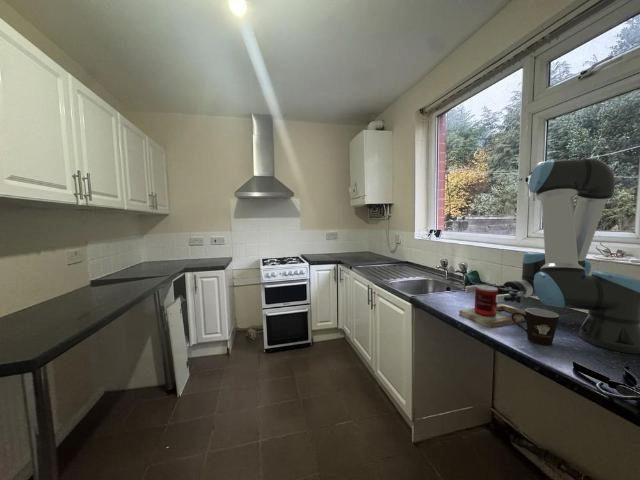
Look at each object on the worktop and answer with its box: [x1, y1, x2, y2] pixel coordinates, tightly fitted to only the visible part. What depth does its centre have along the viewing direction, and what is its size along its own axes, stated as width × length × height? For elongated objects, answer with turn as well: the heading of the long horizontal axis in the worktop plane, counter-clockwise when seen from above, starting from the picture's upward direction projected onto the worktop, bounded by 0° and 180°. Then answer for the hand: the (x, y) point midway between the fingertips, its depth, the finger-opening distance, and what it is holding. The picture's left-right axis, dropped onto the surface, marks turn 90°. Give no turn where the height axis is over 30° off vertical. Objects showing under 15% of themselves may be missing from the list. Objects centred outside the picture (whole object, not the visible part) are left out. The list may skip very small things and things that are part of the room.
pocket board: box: [458, 303, 526, 329], centre depth 111 cm, size 14×26×2 cm, turn 110°
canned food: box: [474, 285, 499, 317], centre depth 108 cm, size 8×8×11 cm
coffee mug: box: [511, 307, 560, 347], centre depth 90 cm, size 12×9×10 cm
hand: (480, 294), depth 106 cm, fingers open, 13 cm apart
